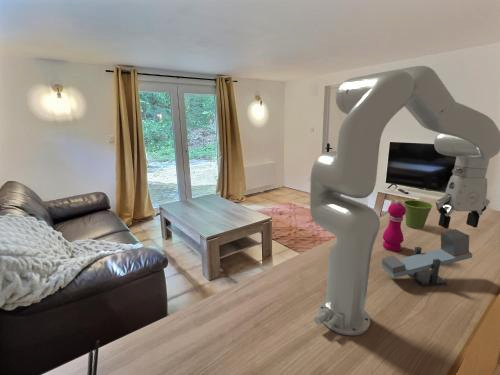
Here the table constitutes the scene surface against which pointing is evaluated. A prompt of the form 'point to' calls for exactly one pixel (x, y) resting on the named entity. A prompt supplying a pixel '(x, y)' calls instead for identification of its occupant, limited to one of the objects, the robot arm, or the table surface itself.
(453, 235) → the iron block
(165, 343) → the table surface
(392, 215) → the pepper mill
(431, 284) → the stand
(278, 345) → the table surface
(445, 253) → the beam
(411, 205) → the plant pot
